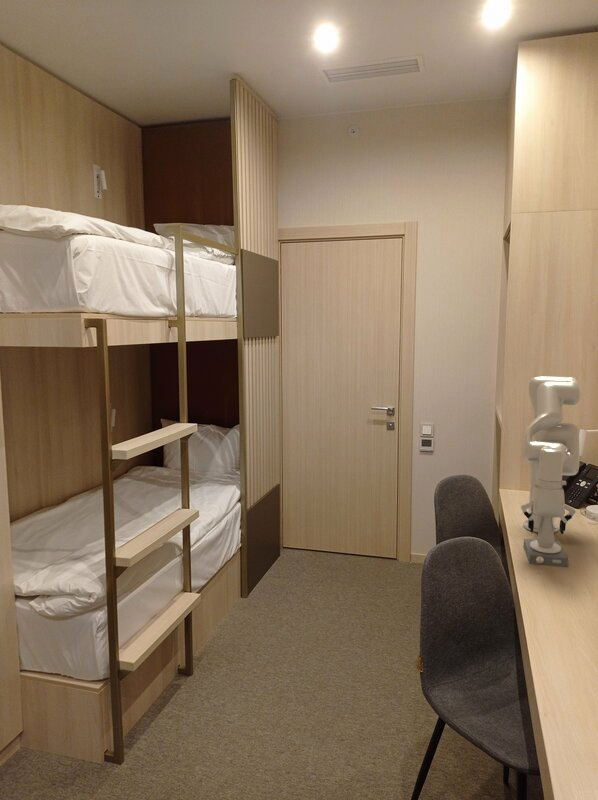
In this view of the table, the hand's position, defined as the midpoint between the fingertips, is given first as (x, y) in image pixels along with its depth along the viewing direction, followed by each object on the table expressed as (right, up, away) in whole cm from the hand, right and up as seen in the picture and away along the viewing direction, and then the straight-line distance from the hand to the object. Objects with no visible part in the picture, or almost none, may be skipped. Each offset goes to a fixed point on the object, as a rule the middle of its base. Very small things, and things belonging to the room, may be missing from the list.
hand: (546, 531), depth 200 cm
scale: (0, -9, +2) cm, 9 cm away
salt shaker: (0, -5, +1) cm, 5 cm away
